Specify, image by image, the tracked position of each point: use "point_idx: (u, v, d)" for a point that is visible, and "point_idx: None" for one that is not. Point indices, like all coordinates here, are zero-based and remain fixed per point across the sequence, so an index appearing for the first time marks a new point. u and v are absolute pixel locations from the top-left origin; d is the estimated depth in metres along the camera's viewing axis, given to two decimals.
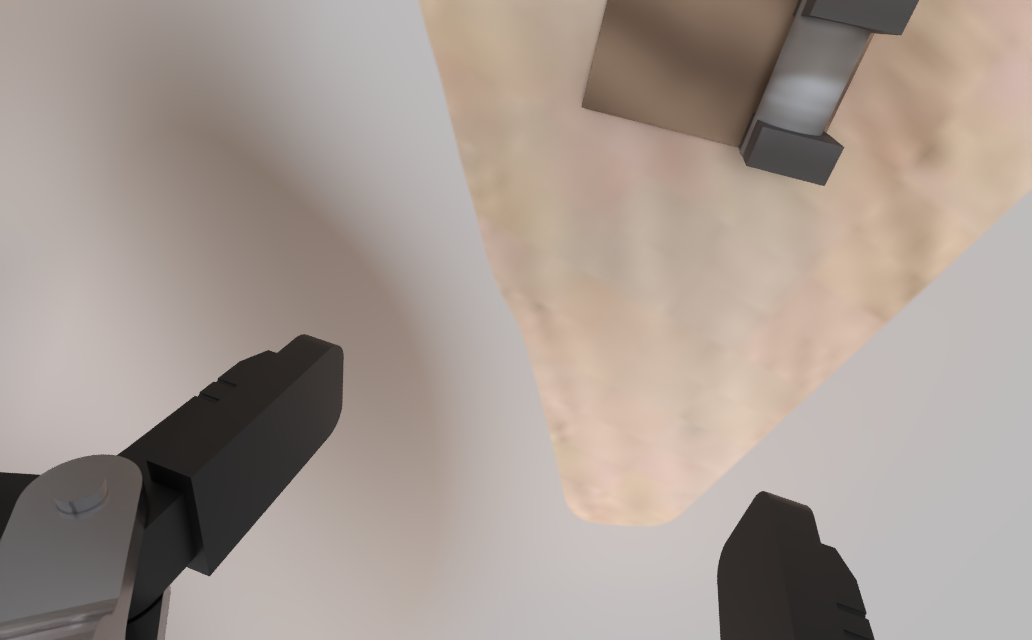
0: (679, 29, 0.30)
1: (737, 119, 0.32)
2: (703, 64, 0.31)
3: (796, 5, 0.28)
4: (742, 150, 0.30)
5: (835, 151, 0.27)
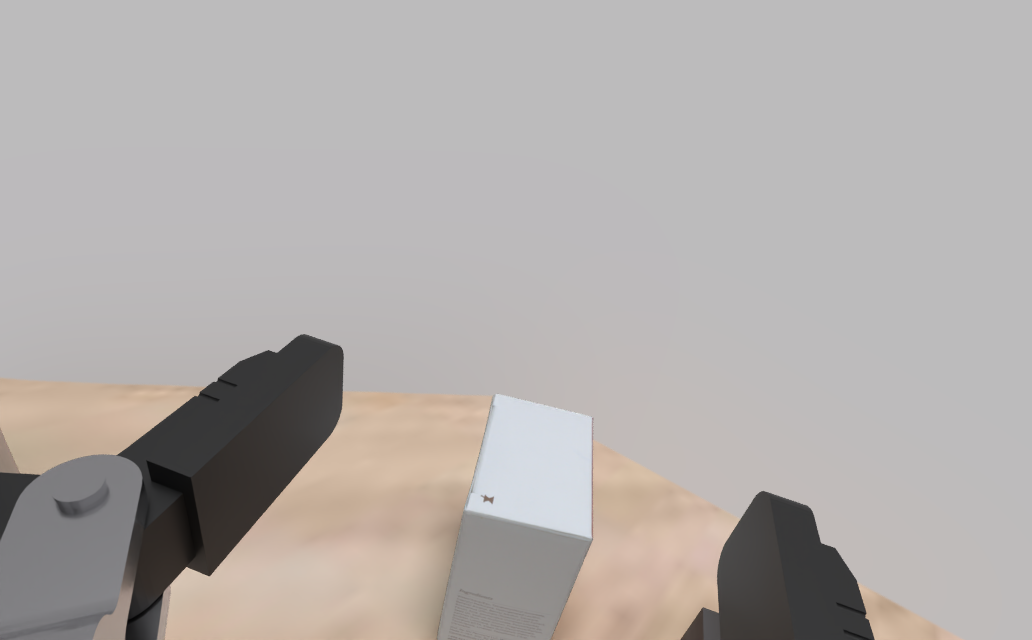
0: None
1: None
2: None
3: None
4: None
5: None
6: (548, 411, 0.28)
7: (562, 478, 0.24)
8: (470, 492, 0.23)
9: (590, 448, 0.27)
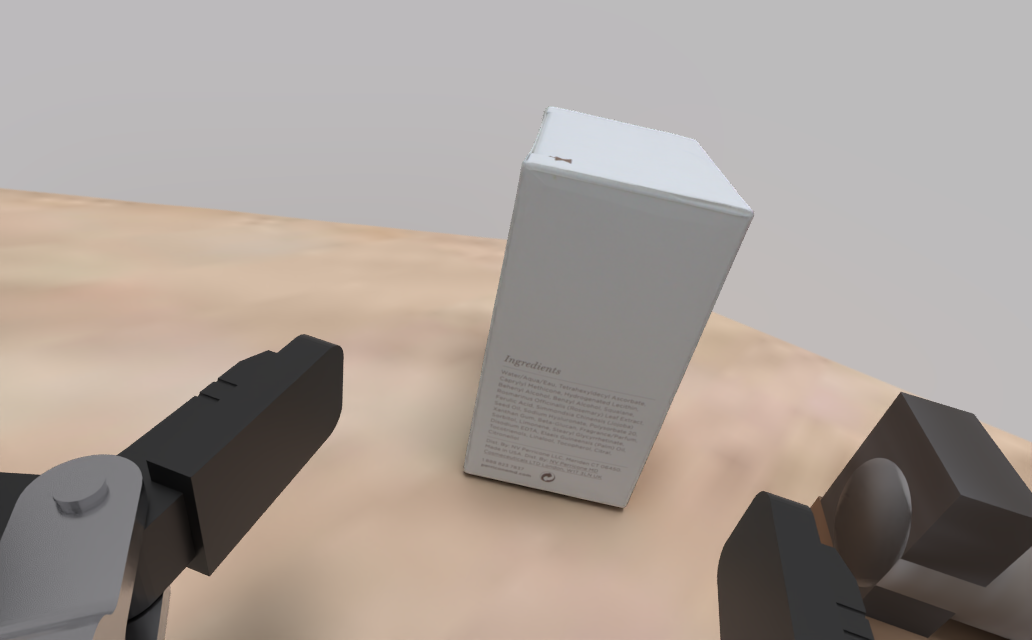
0: None
1: None
2: None
3: (912, 630, 0.14)
4: None
5: None
6: (631, 125, 0.18)
7: (677, 163, 0.15)
8: (530, 154, 0.13)
9: (706, 155, 0.17)
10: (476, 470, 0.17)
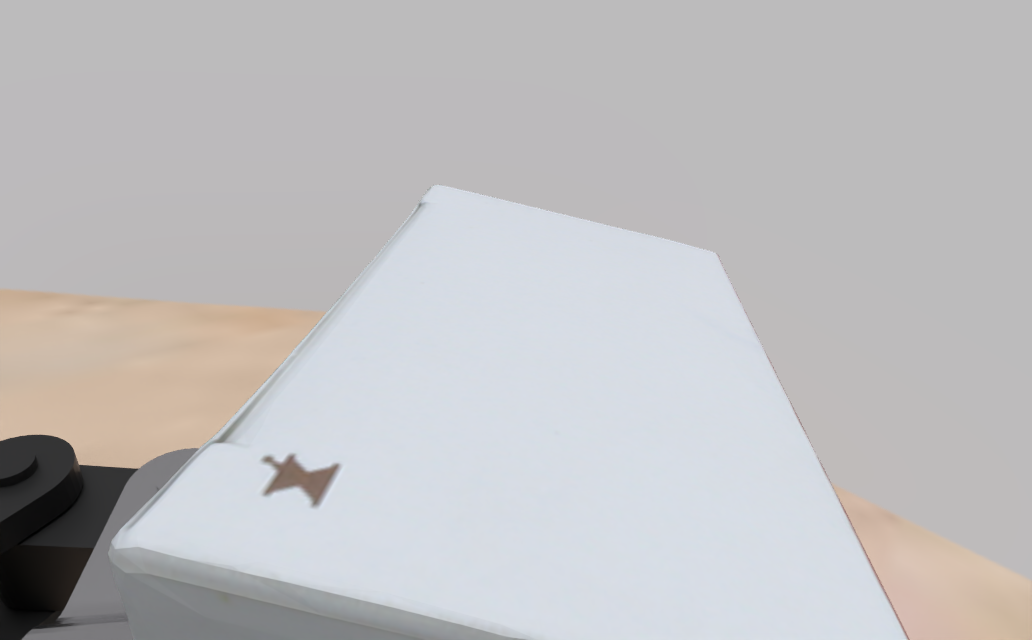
0: None
1: None
2: None
3: None
4: None
5: None
6: (590, 228, 0.09)
7: (678, 397, 0.06)
8: (213, 441, 0.04)
9: (743, 316, 0.08)
10: None
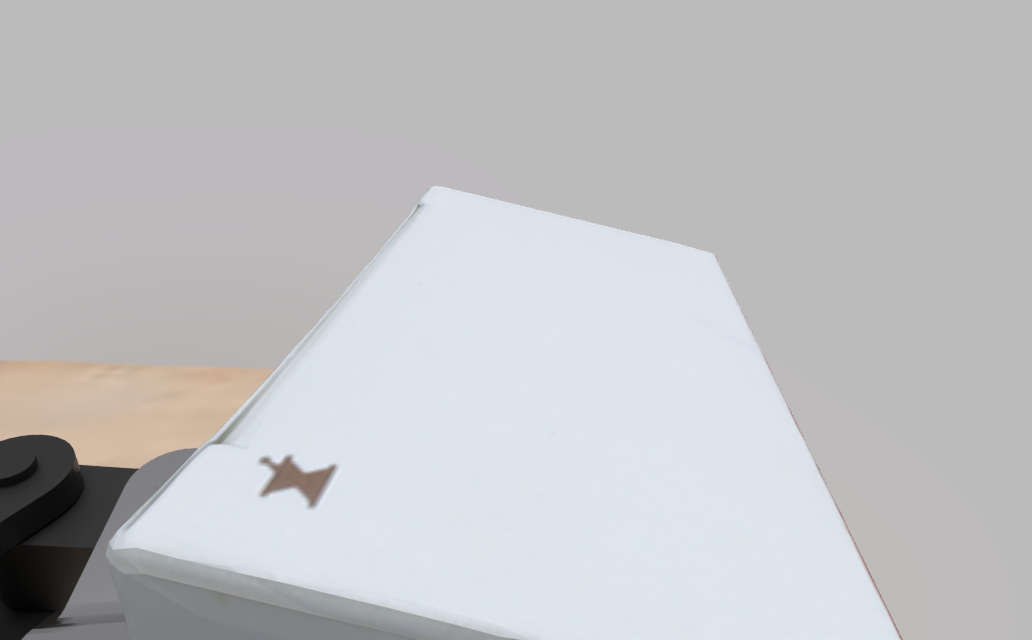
0: None
1: None
2: None
3: None
4: None
5: None
6: (588, 229, 0.09)
7: (675, 398, 0.06)
8: (210, 442, 0.04)
9: (741, 317, 0.08)
10: None
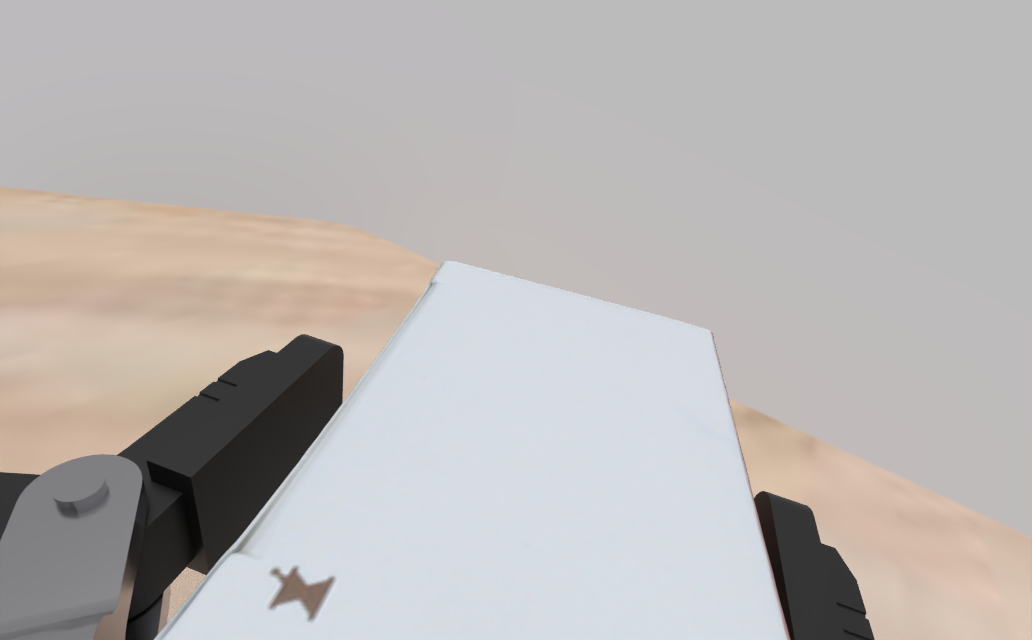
0: None
1: None
2: None
3: None
4: None
5: None
6: (589, 307, 0.10)
7: (645, 504, 0.06)
8: (231, 551, 0.05)
9: (725, 407, 0.08)
10: None
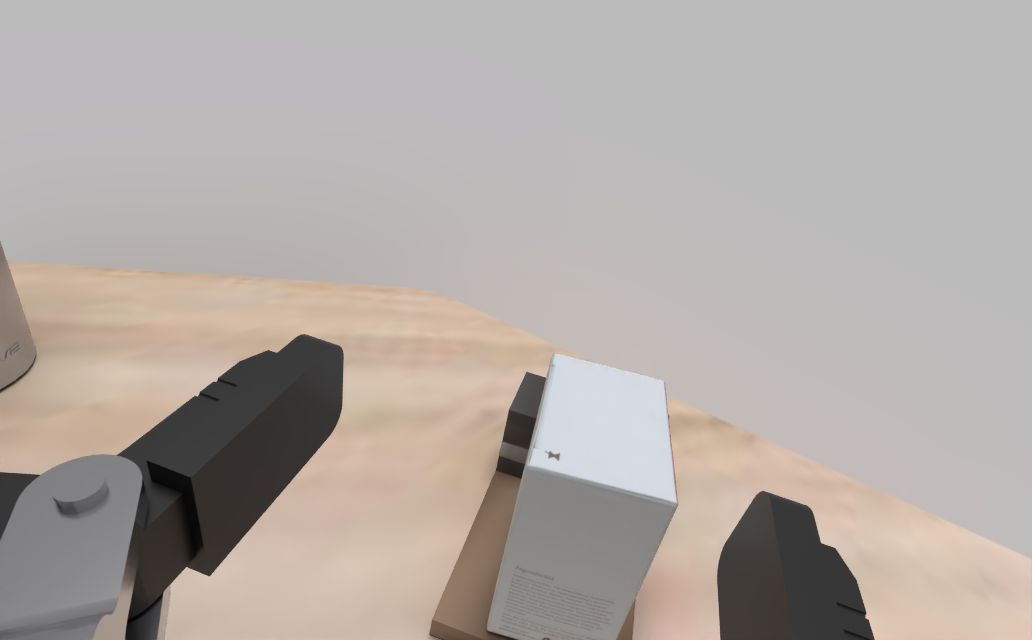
0: None
1: None
2: None
3: (520, 477, 0.32)
4: None
5: None
6: (614, 372, 0.25)
7: (636, 439, 0.21)
8: (532, 448, 0.20)
9: (665, 411, 0.23)
10: (495, 631, 0.24)
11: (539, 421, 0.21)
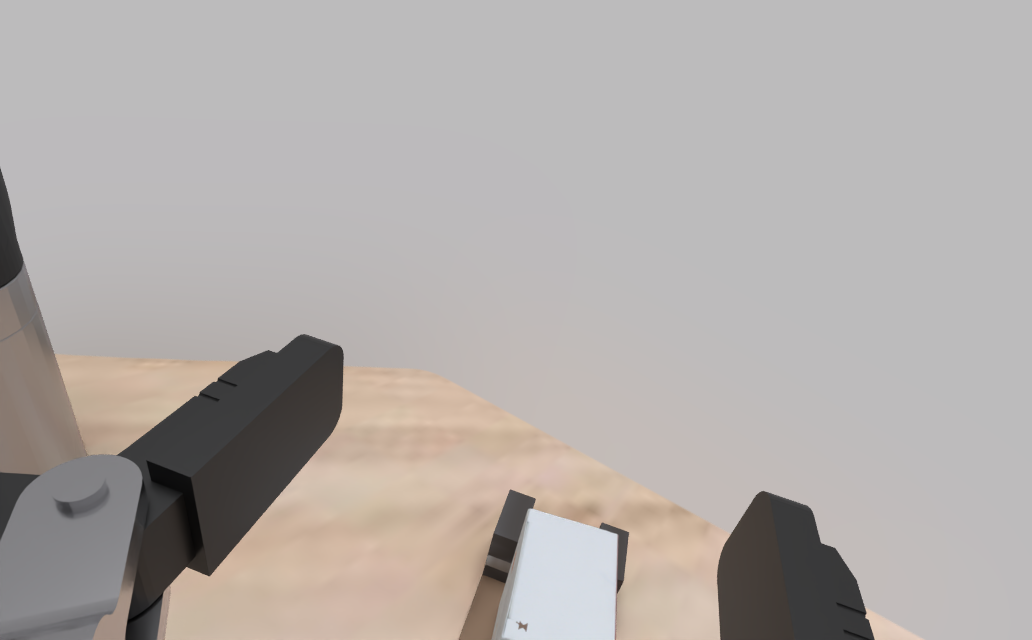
0: None
1: None
2: None
3: (502, 581, 0.39)
4: None
5: (605, 527, 0.38)
6: (577, 528, 0.31)
7: (588, 604, 0.27)
8: (507, 618, 0.26)
9: (615, 570, 0.29)
10: None
11: (513, 588, 0.27)
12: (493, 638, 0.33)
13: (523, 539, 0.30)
